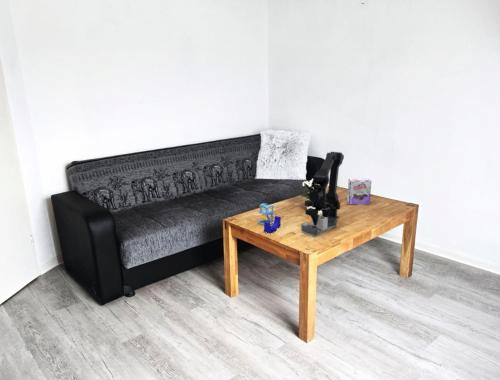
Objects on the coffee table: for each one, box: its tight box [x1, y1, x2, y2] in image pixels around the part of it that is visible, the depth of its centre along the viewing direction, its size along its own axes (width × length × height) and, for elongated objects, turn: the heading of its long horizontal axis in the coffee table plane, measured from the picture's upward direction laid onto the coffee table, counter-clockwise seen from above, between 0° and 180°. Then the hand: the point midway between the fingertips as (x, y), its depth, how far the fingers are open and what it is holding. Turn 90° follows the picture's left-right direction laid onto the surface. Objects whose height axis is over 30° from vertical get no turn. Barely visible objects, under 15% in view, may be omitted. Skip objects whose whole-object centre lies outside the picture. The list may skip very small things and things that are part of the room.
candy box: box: [346, 178, 372, 205], centre depth 265 cm, size 14×6×16 cm, turn 88°
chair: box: [256, 202, 275, 226], centre depth 235 cm, size 8×8×12 cm
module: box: [310, 214, 328, 230], centre depth 225 cm, size 4×8×6 cm, turn 44°
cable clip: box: [263, 215, 282, 235], centre depth 226 cm, size 12×4×6 cm, turn 143°
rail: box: [300, 216, 338, 237], centre depth 225 cm, size 20×9×5 cm, turn 134°
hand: (319, 223), depth 225 cm, fingers open, 7 cm apart
